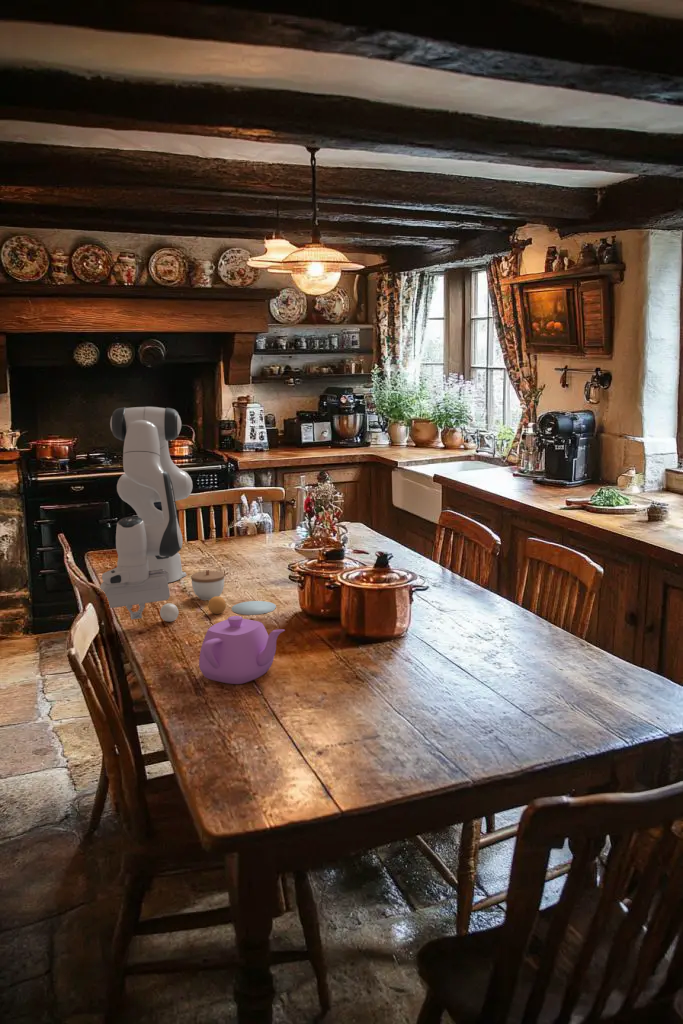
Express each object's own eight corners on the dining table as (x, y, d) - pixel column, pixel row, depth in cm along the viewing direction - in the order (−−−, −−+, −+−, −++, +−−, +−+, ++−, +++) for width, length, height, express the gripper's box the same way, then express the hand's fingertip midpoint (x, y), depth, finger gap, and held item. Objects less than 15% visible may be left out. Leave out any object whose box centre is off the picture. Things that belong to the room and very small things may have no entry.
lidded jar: (208, 604, 275) (207, 576, 273) (185, 599, 282) (184, 571, 280) (232, 596, 284) (230, 569, 282) (209, 591, 290) (207, 564, 288)
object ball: (206, 612, 267) (205, 595, 266) (223, 610, 269) (222, 593, 268) (211, 617, 262) (210, 600, 261) (228, 614, 264) (228, 597, 263)
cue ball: (158, 620, 260) (157, 602, 259) (176, 617, 262) (175, 600, 261) (163, 625, 255) (162, 607, 254) (181, 622, 258) (180, 604, 257)
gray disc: (225, 605, 274) (225, 604, 274) (266, 599, 280) (266, 598, 280) (240, 617, 261) (240, 616, 261) (282, 610, 267) (282, 610, 267)
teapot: (179, 685, 209) (176, 626, 207) (231, 658, 227) (229, 603, 224) (256, 703, 198) (253, 641, 195) (304, 673, 216) (303, 615, 213)
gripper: (165, 566, 259) (168, 610, 261) (96, 575, 250) (99, 620, 252) (171, 570, 253) (173, 615, 256) (100, 579, 244) (103, 626, 247)
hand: (136, 618), depth 254 cm, fingers closed
